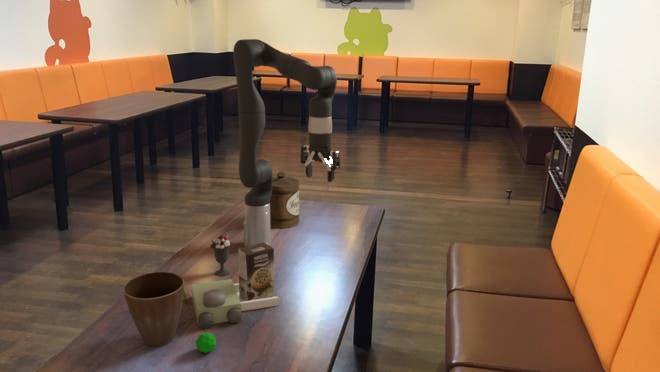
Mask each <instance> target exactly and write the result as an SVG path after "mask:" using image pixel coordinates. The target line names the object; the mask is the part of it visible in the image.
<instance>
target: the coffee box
mask: <svg viewBox="0 0 660 372" xmlns="http://www.w3.org/2000/svg"><path fill="white" fill-rule="evenodd" d="M238 283H239V296H240V297H241V298H242V299H243V300H244V301H250V300H257V299H263V298H270V297H274V296H275V249H274V247H272V246H269V245H267V244H266V243H264V242H263V243H259V244H255V245H250V246H243V247H238Z"/></svg>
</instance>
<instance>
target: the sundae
mask: <svg viewBox="0 0 660 372" xmlns="http://www.w3.org/2000/svg"><path fill="white" fill-rule="evenodd" d="M227 232H228V230H226V229H225V230H224V232H223V234H220V235H219V236H217V237H216V239H215V240H211V242H212V243H211V244H210V248H212V249H213V253H214V258H215V262H217V263H218V264H219V265H220V267H219V269H218V270H216V271H215V272H214V275H216V276H218V277H223V276H225V277H226V276H227V275H229V274H230V273H231V271H230V270H229V269H226V268H225V263H227V261H229V254H230V247H232V243H231V242H230V240H229V239H228V236H226V233H227Z"/></svg>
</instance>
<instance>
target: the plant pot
mask: <svg viewBox="0 0 660 372" xmlns="http://www.w3.org/2000/svg"><path fill="white" fill-rule="evenodd" d="M184 289H185V280H184V278H183V277H182V276H181V275H179V274H177V273H175V272H169V271H157V272H156V271H155V272H149V273H145V274H140V275H138V276H136V277H133V278H132V279H129V281H127V282H126V283H125V284H124V286H123V288H122V291H123V295H124V298H125V302H126V304H127V308H128V311H129V314H130V315H131V318H132V320H133V323H134V325H135V327H136V329H137V331H138V332H139V335H140V336H141V338H142V339H143V341H144V343H145V344H146V345H147V346H150V347H162V346H165V345H167V344H169V343H171V342H172V341H173V339H174V338H175V335H176V332H177V328H178V325H179V321H180V317H181V312H182V307H183V302H182V301H183V291H184Z"/></svg>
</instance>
